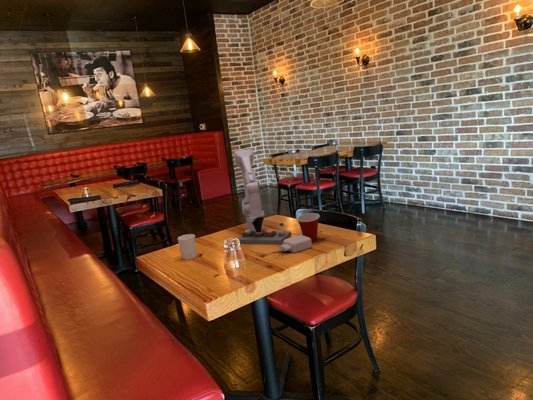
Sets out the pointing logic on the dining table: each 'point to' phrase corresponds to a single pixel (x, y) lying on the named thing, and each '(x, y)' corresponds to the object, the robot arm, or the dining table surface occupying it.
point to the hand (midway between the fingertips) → (258, 232)
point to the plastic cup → (309, 225)
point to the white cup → (187, 246)
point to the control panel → (264, 237)
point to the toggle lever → (281, 227)
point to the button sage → (248, 231)
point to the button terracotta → (269, 231)
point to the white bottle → (296, 244)
